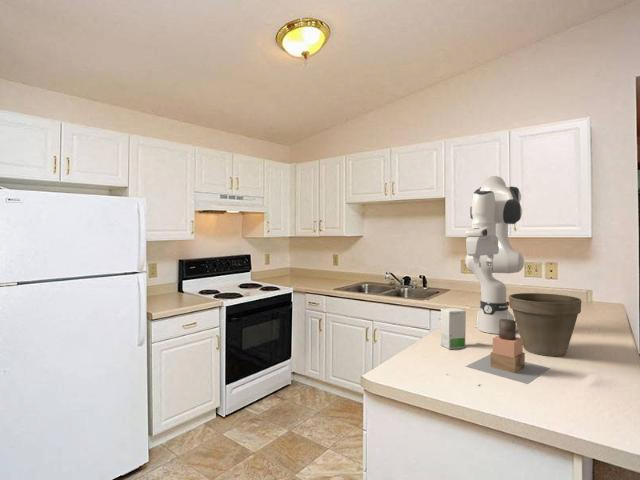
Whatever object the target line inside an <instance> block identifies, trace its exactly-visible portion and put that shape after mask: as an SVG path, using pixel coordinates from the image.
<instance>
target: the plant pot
mask: <svg viewBox="0 0 640 480" xmlns="http://www.w3.org/2000/svg"><path fill="white" fill-rule="evenodd" d="M508 302H509V304H510V305H509V308H510V309H511V310H512V312H513V316H514V321H516V325H517V328H518V330H517V332H518V333H519V338H523V350H525V351H527V352H529V353H533V354H534V355H539V356H547V357H561V356H565V355H566V354H567V351H568V348H569V345H570V342H571V339H572V336H573V332H574V329H575V325H576V323H577V319H578V315H579V314H580V313H581V312H582V299H581V298H579V297H575V296H570V295H565V294H557V293H556V294H555V293H544V292H543V293H542V292H541V293H540V292H523V293H522V292H521V293H513V294H509V296H508Z"/></svg>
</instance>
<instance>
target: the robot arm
mask: <svg viewBox="0 0 640 480" xmlns="http://www.w3.org/2000/svg"><path fill="white" fill-rule="evenodd" d="M471 200H472V201H471V206H470V211H469V212H470V219H471V220H472V221H471V227H470V228H468V229H467V230H466V231H465V236H466V241H465V242H466V244H465V245H466V246H465V247H466V255H465V258H464V263H465V264H464V265H465V266H466V267H467V269H468V270H469V271H470V272H471V273H473V274H474V275H475V276H476V279H477V280H478V282H479V285H480V295H481V296H480V298H481V299H480V303H479V308H480V309H479V310H478V311H477V317H476V318H477V319H476V324H474V325H473V326H474V328H476V329H477V330H478V331H479V332H484V333H488V334H495V335H496V334H497V335H499V320H500V319H510V320H514V321H515V317H514V314H512V313H511V312H510V310H509V307H510V304H509V301H507V286H506V284H505V283H503V282H502V281H500V280H499V279H496V278H495V277H494V276H493V274H516V273H519V272H521V271H522V269H523V267H524V265H525V259H524V256H523V255H522V254H521V253H520V252H519V251H518V250H516V249H515V248H513V247H512V245H511V244H510V241H509V225H515V224H517V222H519V221H520V220H521V218H522V214H523V209H522V208H523V207H522V205H521V200H522V195H521V190H520V188H518V187H516V186H507V184H506V182H505V180H504V179H503V178H502V177H501V176H497V175H493V176H489V177H488V178H486V179H485V180H484V181H483V183H482V184H481V186H480V187H479V188H477V189H476V190H474V192H473V195H472V198H471ZM516 332H518V328H517V324H516Z"/></svg>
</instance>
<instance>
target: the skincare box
mask: <svg viewBox="0 0 640 480" xmlns="http://www.w3.org/2000/svg"><path fill="white" fill-rule="evenodd" d="M466 315H467V314H466V310H464V309H460V308H457V307H456V308H440V342H439V343H440V346H441V347H444V348H445V349H447V350H455V349H457V350H458V349H465V348H466Z"/></svg>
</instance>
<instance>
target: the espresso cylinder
mask: <svg viewBox="0 0 640 480" xmlns="http://www.w3.org/2000/svg"><path fill="white" fill-rule="evenodd" d="M516 325H517V324H516V321H515V319H514V320H510V319H500V320H499V334H498V336H499V338H501V339H504V340H515V339H516V337H517V335H516V333H517V331H516Z"/></svg>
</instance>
